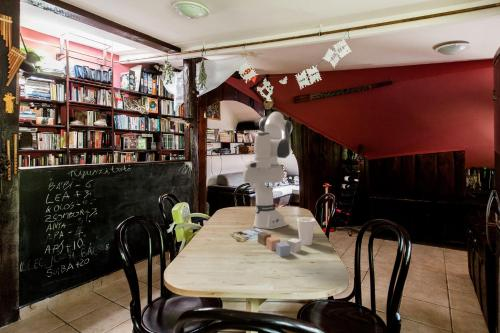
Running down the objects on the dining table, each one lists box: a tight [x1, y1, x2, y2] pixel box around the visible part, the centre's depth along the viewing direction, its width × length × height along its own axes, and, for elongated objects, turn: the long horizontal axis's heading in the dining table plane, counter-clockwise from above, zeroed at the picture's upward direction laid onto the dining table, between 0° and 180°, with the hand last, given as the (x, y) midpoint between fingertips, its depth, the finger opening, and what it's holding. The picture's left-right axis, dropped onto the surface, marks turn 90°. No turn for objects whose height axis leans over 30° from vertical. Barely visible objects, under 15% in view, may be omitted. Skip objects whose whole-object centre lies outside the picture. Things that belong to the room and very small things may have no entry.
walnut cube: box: [257, 231, 272, 246], centre depth 156 cm, size 5×5×5 cm
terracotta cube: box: [265, 236, 281, 251], centre depth 148 cm, size 5×5×5 cm
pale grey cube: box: [286, 237, 302, 254], centre depth 145 cm, size 5×5×5 cm
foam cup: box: [296, 216, 316, 246], centre depth 154 cm, size 10×9×13 cm
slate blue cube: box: [275, 241, 291, 258], centre depth 140 cm, size 5×5×5 cm
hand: (262, 190), depth 149 cm, fingers open, 8 cm apart
